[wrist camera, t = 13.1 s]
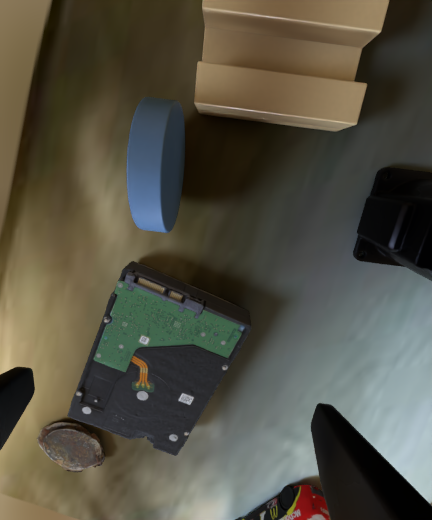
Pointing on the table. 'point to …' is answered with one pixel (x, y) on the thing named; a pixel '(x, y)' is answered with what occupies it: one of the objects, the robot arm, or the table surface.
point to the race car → (294, 505)
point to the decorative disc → (71, 446)
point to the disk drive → (157, 358)
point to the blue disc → (156, 163)
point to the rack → (286, 60)
